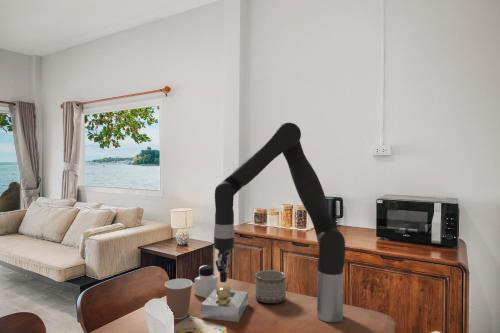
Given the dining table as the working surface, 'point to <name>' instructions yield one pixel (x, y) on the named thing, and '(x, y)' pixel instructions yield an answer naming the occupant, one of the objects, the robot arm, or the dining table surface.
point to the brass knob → (223, 294)
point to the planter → (270, 286)
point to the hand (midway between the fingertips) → (223, 281)
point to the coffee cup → (178, 296)
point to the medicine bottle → (205, 281)
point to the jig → (225, 306)
